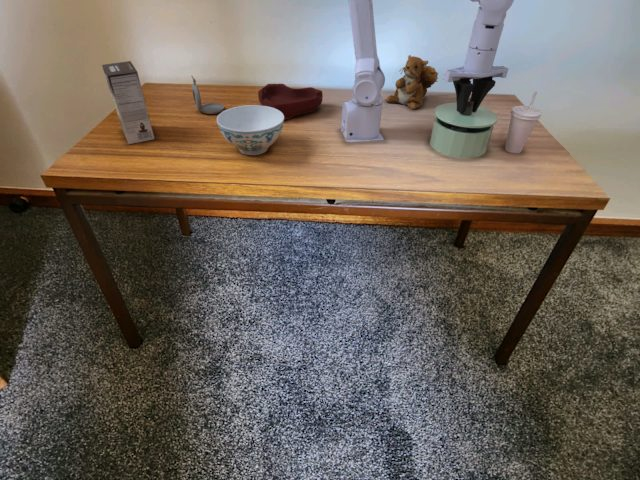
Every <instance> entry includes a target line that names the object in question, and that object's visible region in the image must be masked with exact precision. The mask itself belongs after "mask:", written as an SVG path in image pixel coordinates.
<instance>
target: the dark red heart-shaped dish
mask: <svg viewBox="0 0 640 480" xmlns="http://www.w3.org/2000/svg"><path fill="white" fill-rule="evenodd" d="M257 97H258V102H259V103H260V105H261V106H268V107H272V108H275V109H277V110H279V111H281V112H282V113H283V115H284V121H286V120H288V119H292V118H294V117H297V116H300V115H303V114H307V113H312V112H315V111H317V110H318V109H319V108H320V106H321V105H322V103H323V91H322V90H321V89H318V88H315V87H311V86H310V87H301V88H292V87H289V86H287V85H286V84H284V83H267V84H266V85H265V86H263V87H262V88H261V89H258V92H257Z"/></svg>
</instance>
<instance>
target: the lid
mask: <svg viewBox="0 0 640 480" xmlns="http://www.w3.org/2000/svg"><path fill="white" fill-rule="evenodd" d="M474 104H475V99H472V98H471V97H469V99H468V102H467V106H466V110H465V112H464V113H462V114H461V113H459V112H458V111H457V102H447V103H442V104H439V105H438V106H436V107H435V108H434V111H433V113H434V116H435V117H437V118H439V119H440V120H442V121H444V122H446V123H449V124H452V125H455V126H460V127H466V128H484V127H489V126H492V125H493V126H494V125H495V124H497V122H498V119H499V117H498V115H497V113H496V112H494V111H492V110H491V109H489V108H487V107H484V106H481V105H480V106H479V107H478V109H477V111H476V112H472V111H473V108H474Z"/></svg>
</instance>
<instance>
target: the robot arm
mask: <svg viewBox="0 0 640 480" xmlns="http://www.w3.org/2000/svg"><path fill="white" fill-rule="evenodd" d="M470 1H471V2H472V3H474V2H478V4H479V7H478V8H477V9H478V10H477V14H476V18H475V20H474V22H473V26H472V30H471V34H470V38H469V42H468V47H467V51H466V55H465V59H464V64H463V66H460V67H456V68H452V69H445V70H444V72H443V77H442V80H443V81H445V82H446V83H453V87H454V90H455V91H454V92H455V97H456V103H457V111H458V112H459V113H461V114H462V113H464V112H465V110H466V106H467V102H468V99H469V98H472V99H475V104H474V108H473V111H472V112H476V111H477V109H478V107H479V106H481V104H482V103H483V100H484V99H485V98H486V96H487V95H488V93H490V91H491V90H492V89H493V88H494V87H495V86H496V80H494V79H493V78H502V79H504V78H505V79H507V76H508V72H509V67H506V66H504V65H494V61H495V58H496V55H497V51H498V47H499V45H500V40H501V36H502V34H503V29H504V25H505V23H504V22H505V20H506V17H507V13H508V11H509V9H510V8H511V7H512V5H514V1H515V0H470ZM373 4H374V3H373V0H348V6H349V8H348V9H349V16H350V25H351V33H352V40H353V41H352V42H353V49H354V56H355V58H354V59H355V65H354V83H353V86H352V96H353V97H352V99H350V100H347V101H343V103H342V107H341V123H340V125H341V126H340V131H341V133H342V135H343V137H344V139H345V141H346V142H348V143H349V142H350V143H351V142H353V143H354V142H369V141H370V142H371V141H384V140H385V138H384V137H383V135H382V134H381V132H380V129H381V120H382V112H383V106H384V105H383V103H384V98H383V96H382V95H381V92H382V89H383V88H384V86H385V83H386V77H385V76H386V75H385V74H384V71H383V70H382V69H381V64H380V58H379V56H378V49H377V48H378V47H377V39H376V28H375V27H376V26H375V17H374V5H373ZM471 80H472V81H471Z"/></svg>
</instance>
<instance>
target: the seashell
mask: <svg viewBox="0 0 640 480" xmlns="http://www.w3.org/2000/svg"><path fill="white" fill-rule="evenodd" d="M450 129H451V130H454V131H459V132H465V133H469V132H468V131H469V128H466V127H460V126H455V125H454V126H453V127H451V128H450Z"/></svg>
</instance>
